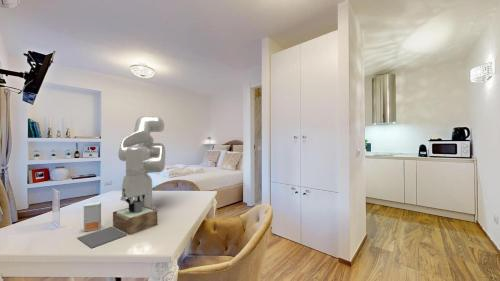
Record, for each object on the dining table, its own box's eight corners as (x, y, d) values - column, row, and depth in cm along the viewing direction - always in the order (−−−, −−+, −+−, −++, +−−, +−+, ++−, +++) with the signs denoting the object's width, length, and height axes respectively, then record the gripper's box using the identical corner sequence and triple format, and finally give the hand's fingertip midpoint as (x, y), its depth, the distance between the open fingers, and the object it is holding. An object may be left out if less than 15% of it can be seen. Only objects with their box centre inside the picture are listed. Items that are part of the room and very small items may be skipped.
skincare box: (83, 232, 94) (83, 205, 94) (85, 228, 98) (85, 203, 98) (99, 229, 97) (99, 203, 97) (101, 226, 101) (101, 201, 100)
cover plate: (130, 219, 92) (130, 207, 92) (116, 214, 100) (116, 202, 100) (153, 212, 102) (153, 201, 102) (139, 207, 109) (139, 197, 109)
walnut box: (129, 234, 91) (129, 218, 91) (113, 226, 100) (112, 212, 100) (157, 224, 102) (157, 210, 102) (139, 217, 111) (139, 204, 111)
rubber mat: (77, 238, 88) (77, 237, 88) (111, 227, 99) (111, 226, 99) (91, 248, 80) (91, 247, 80) (127, 235, 90) (127, 234, 90)
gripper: (146, 170, 109) (147, 204, 110) (112, 174, 96) (113, 214, 96) (154, 171, 105) (155, 207, 105) (120, 176, 92) (121, 217, 92)
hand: (135, 210), depth 101 cm, fingers closed on cover plate, 2 cm apart
